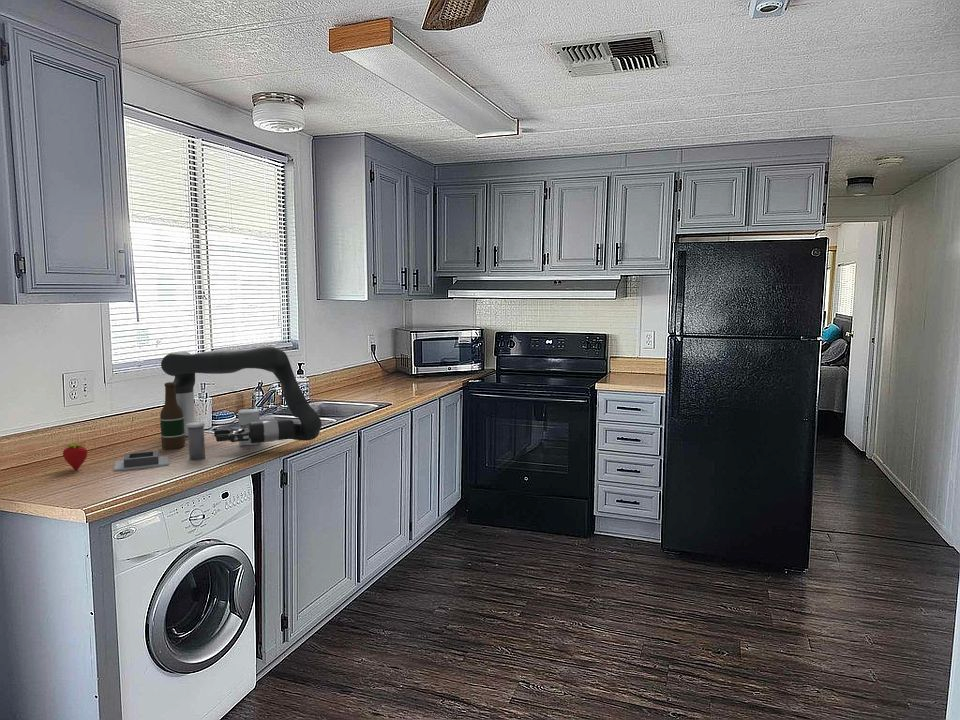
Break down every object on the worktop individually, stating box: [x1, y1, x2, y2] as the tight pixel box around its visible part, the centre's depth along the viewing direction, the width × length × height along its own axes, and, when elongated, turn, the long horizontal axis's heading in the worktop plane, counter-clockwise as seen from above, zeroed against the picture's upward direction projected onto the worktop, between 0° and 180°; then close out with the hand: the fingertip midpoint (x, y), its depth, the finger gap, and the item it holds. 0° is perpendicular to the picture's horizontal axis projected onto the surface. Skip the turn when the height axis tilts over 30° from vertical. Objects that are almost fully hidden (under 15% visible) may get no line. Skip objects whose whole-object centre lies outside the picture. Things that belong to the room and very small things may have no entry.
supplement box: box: [237, 408, 261, 447], centre depth 253 cm, size 7×7×13 cm
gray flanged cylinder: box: [186, 421, 206, 461], centre depth 231 cm, size 6×6×12 cm
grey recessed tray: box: [112, 450, 170, 472], centre depth 224 cm, size 12×16×3 cm
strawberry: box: [62, 438, 88, 470], centre depth 218 cm, size 6×8×10 cm
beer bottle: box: [159, 381, 186, 451], centre depth 248 cm, size 8×8×24 cm
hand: (215, 436), depth 234 cm, fingers open, 8 cm apart
